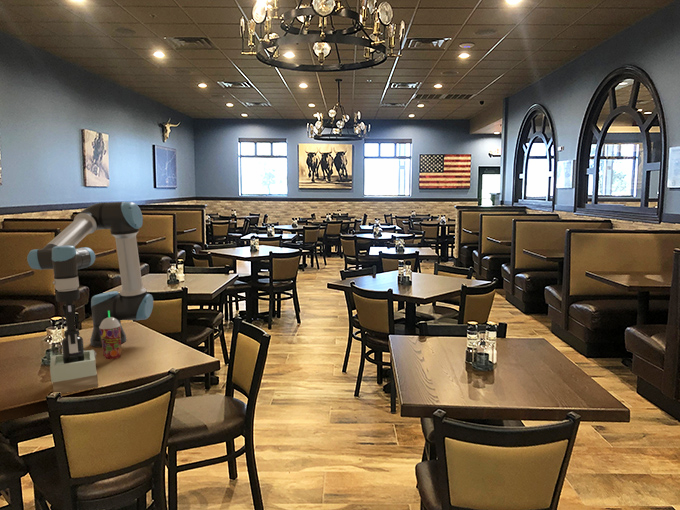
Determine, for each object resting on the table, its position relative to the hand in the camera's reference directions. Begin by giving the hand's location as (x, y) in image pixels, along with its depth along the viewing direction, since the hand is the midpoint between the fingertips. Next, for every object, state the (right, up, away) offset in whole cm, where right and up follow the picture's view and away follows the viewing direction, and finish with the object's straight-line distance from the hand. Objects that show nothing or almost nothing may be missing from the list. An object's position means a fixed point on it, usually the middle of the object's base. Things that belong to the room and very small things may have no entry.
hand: (72, 347), depth 187 cm
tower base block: (0, -14, +1) cm, 14 cm away
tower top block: (0, -9, 0) cm, 9 cm away
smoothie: (+1, -10, +32) cm, 33 cm away
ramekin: (-7, -12, +21) cm, 25 cm away
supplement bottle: (0, -6, +1) cm, 6 cm away
